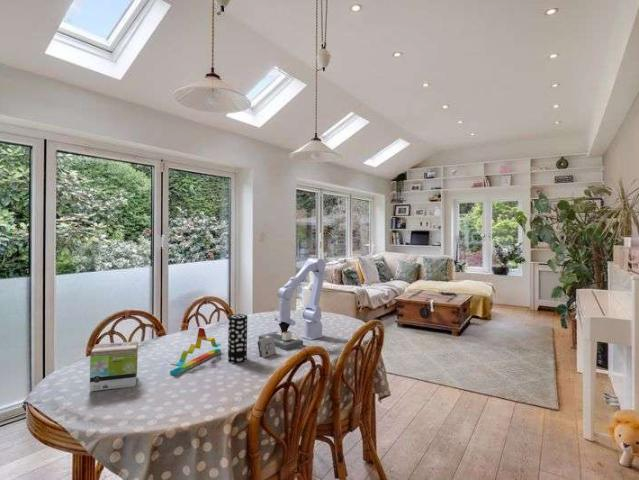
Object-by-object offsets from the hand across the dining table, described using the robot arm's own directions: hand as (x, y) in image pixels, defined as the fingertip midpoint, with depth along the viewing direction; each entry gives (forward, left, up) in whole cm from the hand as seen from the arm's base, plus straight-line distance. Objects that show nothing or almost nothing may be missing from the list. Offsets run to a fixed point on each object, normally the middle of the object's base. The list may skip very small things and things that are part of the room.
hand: (284, 336), depth 192 cm
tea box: (+79, -5, -4) cm, 79 cm away
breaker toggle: (0, +2, -1) cm, 2 cm away
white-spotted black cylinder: (+31, +4, -4) cm, 32 cm away
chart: (+45, -5, -5) cm, 46 cm away
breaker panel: (0, -3, -4) cm, 5 cm away
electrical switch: (+17, +7, -4) cm, 19 cm away
